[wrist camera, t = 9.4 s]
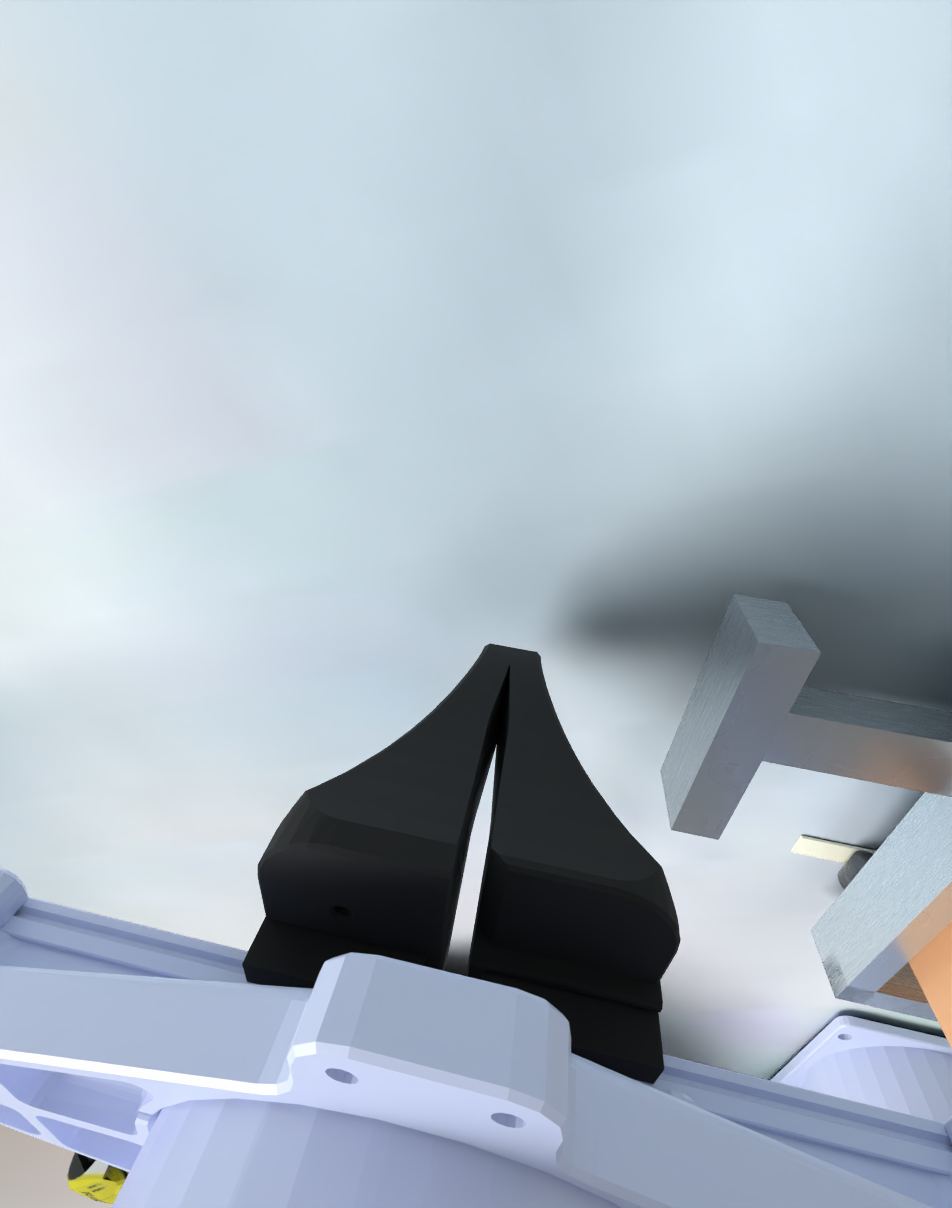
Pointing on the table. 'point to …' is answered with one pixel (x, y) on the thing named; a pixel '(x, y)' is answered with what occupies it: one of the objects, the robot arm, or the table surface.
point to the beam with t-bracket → (835, 746)
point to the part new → (937, 977)
